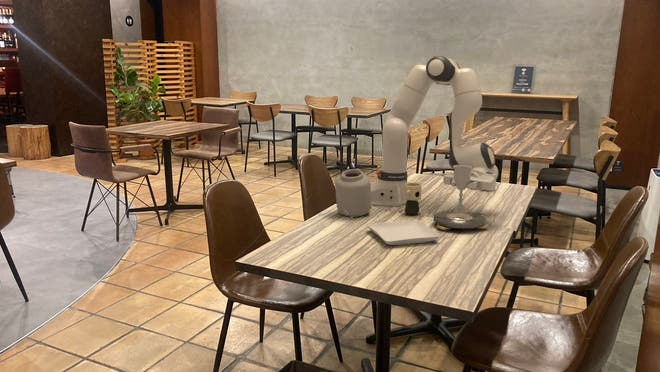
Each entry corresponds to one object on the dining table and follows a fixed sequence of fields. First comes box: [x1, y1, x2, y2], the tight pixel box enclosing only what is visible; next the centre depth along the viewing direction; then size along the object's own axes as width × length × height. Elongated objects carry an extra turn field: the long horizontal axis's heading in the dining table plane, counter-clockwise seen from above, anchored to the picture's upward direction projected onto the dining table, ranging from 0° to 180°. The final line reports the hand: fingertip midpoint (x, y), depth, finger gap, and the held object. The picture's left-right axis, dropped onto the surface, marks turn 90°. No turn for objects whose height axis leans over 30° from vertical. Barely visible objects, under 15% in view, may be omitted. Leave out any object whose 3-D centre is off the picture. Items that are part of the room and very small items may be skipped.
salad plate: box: [366, 219, 441, 246], centre depth 205 cm, size 21×21×3 cm
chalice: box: [452, 165, 473, 213], centre depth 216 cm, size 7×7×18 cm
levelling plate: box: [433, 209, 489, 231], centre depth 219 cm, size 20×21×4 cm
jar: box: [334, 162, 373, 218], centre depth 231 cm, size 19×15×25 cm
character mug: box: [404, 182, 422, 216], centre depth 234 cm, size 11×7×13 cm, turn 149°
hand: (460, 185), depth 214 cm, fingers closed on chalice, 5 cm apart
